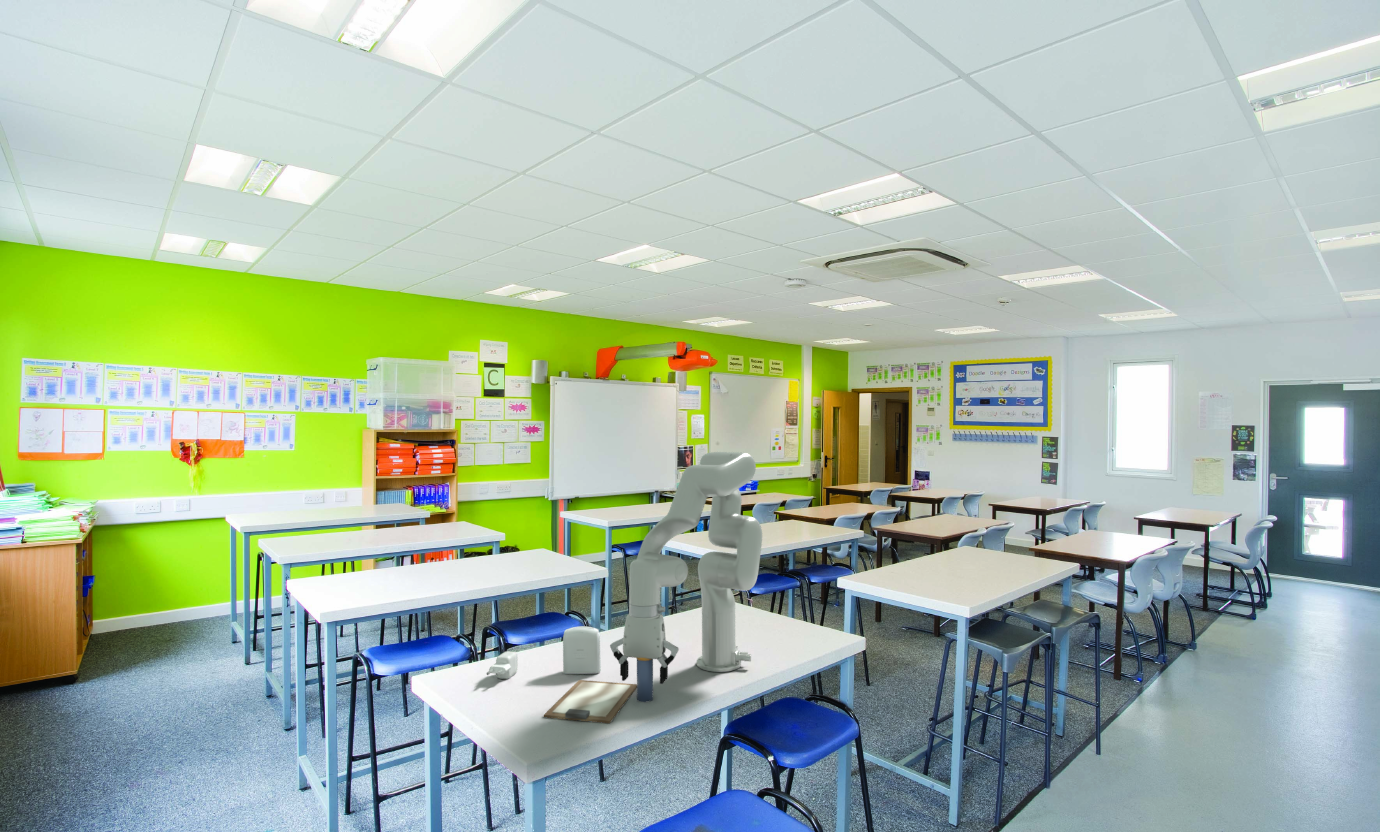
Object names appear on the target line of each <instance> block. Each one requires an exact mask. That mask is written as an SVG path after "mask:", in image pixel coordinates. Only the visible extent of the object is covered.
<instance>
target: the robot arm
mask: <svg viewBox="0 0 1380 832" xmlns="http://www.w3.org/2000/svg"><path fill="white" fill-rule="evenodd" d="M755 474H756V461H755V459H754V457H753V456H752V455H751V454H749V453H747V452H739V451H738V452H737V451H736V452H735V451H734V452H733V451H731V452H730V451H728V452H727V451H712V452H711V451H710V452H707V453H705V454H703V455H702V456H701V458H700V461H699V464H693V465H690V466H687V467H686V468H685V469H684V471H683V472H682V475H681V476H680V479H679V482H678V485H677V488H676V491H675V494H674V496H673V499H672V502H671V505H670V507H669V510H668V513H667V514H666V515H665V516H664V517H663V518H662V519H660V520H659V521H658V522H657V523H656V524H655V525H654V527H652V528H651V529H650V531H649V532H648V533H647V534H646V535H645V537H644V539H643V540H642V543H641V545H640V548H639V551H638V554H637V557H636V559H634V560H633V561H631V562H630V564H629V591H628V592H629V594H628V595H629V596H628V597H629V599H628V601H629V602H628V603H629V605H628V607H629V608H628V614H627V615H626V618H625V624H624V630H623V637H621V638H620V639H618V640H615V641H614V642H613V641H612V643H611V644H610V645H609V647H610V649H611V651H612V654H613V657H614V658H615V659H616V660H617V661H618V664H619V665H620V668H619V669H620V670H619V672H620V673H619V676H620V677H621V681H623V682H625V681H626V680H627V679H628V678H629V661H628V658H636V659H637V658H647V659H653V660H657V662H658V663H659V664H660V667H659V684H660V685H663V684H664V683H665V681H666V680H668V677H669V676H668V675H669V673H668V671H669V668H668V666H669V665H670V664H671V663H672V662H673V660H674V659H675V658H676V656H677V654H678V653H679V650H680V648H679V647H678V646H677V645H674V644H673V643H671V642H669V641H668V640H667V639H666V628H665V627H666V626H665V620H664V616H663V614H661V613H665V612H666V606H663V605H661V601H660V600H661V599H660V598H661V597H660V596H661V594H660V592H661V590H660V589H661V588H669V587H670V588H671V587H672V588H673V587H677V586H679V585H681V584H683V583H684V582H685V581H686V579H687V578H688V574H689V567H688V565H687V563H686V561H685V560H684V559H682V558H681V557H678V556H674V555H669V554H668V555H667V554H662V553H661V552H662V551H663V548H664V547H665V546H666V544H667V543H668V542H669V541H670V540H672V539H673V538H674V537H677V536H678V535H681V534H683V533H685V532H688V531H690V530H692V529H694V528H696V527H697V526H698V525H699V522H700V520H701V516H702V513H703V511H704V508H705V504H706V502H707V498H708V497H712V500H711V507H710V508H711V510H710V517H709V522H708V523H709V524H708V532H707V533H708V534H707V535H708V540H709V543H711V544H712V545H714V546H715V547H719V548H725V549H732V550H736V553H732V552H731V553H730V552H725V551H710V552H708V551H707V552H706V553H704V554H703V555H702V556H701V557H700V559H699V561H698V564H697V573H698V574H697V575H698V579H699V585H700V591H701V593H700V594H701V655H700V656H699V657H698V658H697V659H696V665H697V667H698V668H699V669H701V670H703V671H707V672H713V673H724V672H731V671H734V670H737V669H739V668H740V667H741V666H742V662H743V661H744V662H750V663H751V661H752V654H751V653H750V654H749V652H748V651H740V650H739V647H738V646H736V599H735V595H734V593H733V590H736V591H743V592H746V591H750V590H751V589H753V587H754V586H755V584H756V583H757V579H758V575H759V570H760V562H761V552H762V545H763V544H762V543H763V529H762V526H761V524H760V521H758V519H757V518H756V517H753V516H750V515H742V514H741V511H742V502H743V501H742V494H741V492H740V489H741V488H742V487H743V486H745V485H747V484H748V483H750V481H751V480H752V479H753V477H754V476H755ZM620 646H622V652H621V651H620V650H619V647H620ZM666 650H668V651H670V655H669V656H668V657H667V656H666V654H665V653H666Z"/></svg>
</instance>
